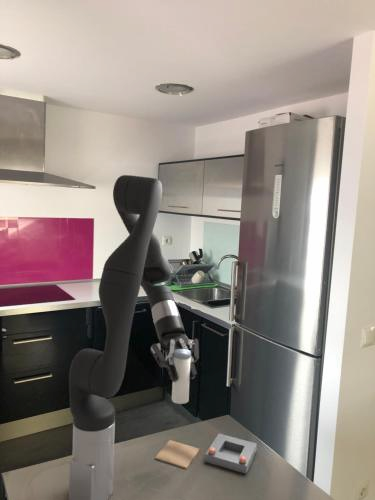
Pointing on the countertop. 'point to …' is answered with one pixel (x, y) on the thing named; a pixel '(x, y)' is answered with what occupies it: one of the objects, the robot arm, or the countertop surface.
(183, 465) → the pad
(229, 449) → the block
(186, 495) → the countertop surface
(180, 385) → the ball
